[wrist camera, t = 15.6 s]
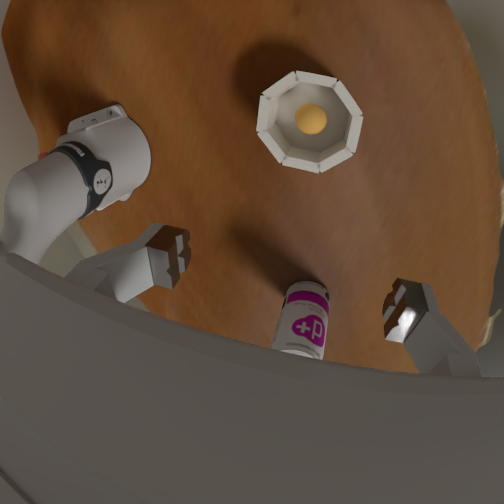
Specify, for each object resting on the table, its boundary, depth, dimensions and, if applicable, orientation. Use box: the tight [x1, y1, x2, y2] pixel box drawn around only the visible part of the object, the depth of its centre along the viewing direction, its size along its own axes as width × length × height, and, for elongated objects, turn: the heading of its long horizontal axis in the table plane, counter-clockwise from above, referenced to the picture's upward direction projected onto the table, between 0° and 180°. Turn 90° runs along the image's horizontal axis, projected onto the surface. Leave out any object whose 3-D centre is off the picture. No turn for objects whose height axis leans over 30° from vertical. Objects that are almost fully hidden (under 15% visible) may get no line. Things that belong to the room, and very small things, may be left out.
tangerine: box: [295, 103, 327, 134], centre depth 30 cm, size 4×4×4 cm
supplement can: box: [271, 281, 330, 360], centre depth 44 cm, size 8×8×15 cm
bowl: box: [256, 71, 363, 173], centre depth 30 cm, size 12×12×6 cm
